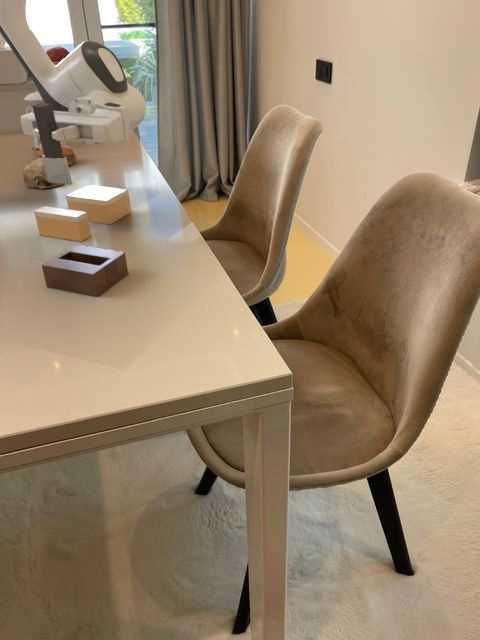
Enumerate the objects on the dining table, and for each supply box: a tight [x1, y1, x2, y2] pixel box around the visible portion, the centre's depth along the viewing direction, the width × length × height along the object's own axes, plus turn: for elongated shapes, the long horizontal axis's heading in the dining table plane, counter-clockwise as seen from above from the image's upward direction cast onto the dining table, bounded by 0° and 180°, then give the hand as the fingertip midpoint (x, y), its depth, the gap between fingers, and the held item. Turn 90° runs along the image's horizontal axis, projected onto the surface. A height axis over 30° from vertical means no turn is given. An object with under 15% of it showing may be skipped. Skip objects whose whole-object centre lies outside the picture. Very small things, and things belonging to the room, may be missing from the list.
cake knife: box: [31, 102, 73, 186], centre depth 103 cm, size 5×2×14 cm, turn 69°
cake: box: [65, 184, 132, 225], centre depth 119 cm, size 10×8×5 cm
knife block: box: [41, 243, 129, 298], centre depth 93 cm, size 10×9×4 cm
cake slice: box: [33, 205, 91, 243], centre depth 109 cm, size 10×3×5 cm, turn 69°
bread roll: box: [22, 157, 64, 190], centre depth 138 cm, size 10×10×8 cm
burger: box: [37, 144, 77, 166], centre depth 153 cm, size 10×9×5 cm
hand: (45, 135), depth 101 cm, fingers closed on cake knife, 2 cm apart
